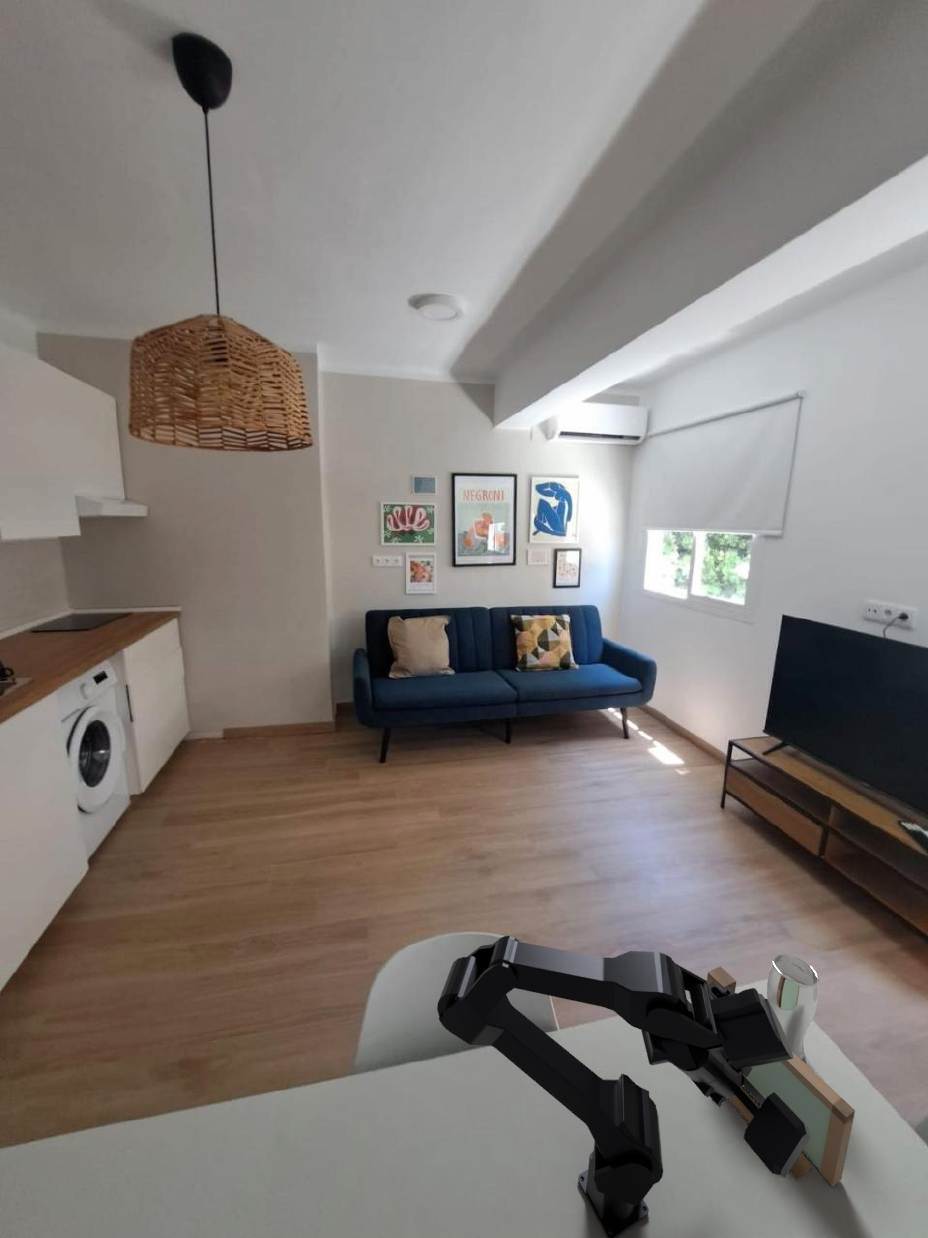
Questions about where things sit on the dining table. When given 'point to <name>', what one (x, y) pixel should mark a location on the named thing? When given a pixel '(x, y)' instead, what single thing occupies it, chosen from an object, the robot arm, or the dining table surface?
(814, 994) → the beer glass
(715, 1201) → the dining table surface
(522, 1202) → the dining table surface
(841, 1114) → the board
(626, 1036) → the dining table surface
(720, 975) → the gate frame
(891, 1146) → the dining table surface
